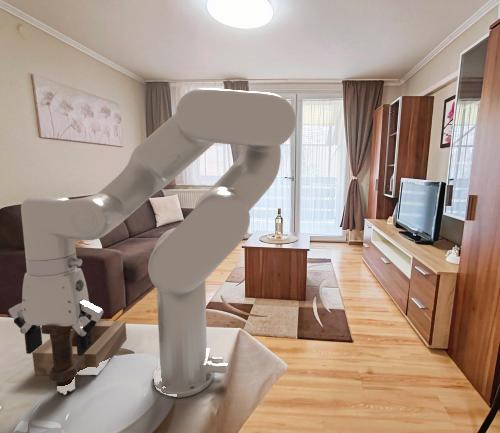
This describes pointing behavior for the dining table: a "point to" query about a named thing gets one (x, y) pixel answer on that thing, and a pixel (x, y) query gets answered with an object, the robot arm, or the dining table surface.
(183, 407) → the dining table surface
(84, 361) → the socket block
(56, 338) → the bolt
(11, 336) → the dining table surface
